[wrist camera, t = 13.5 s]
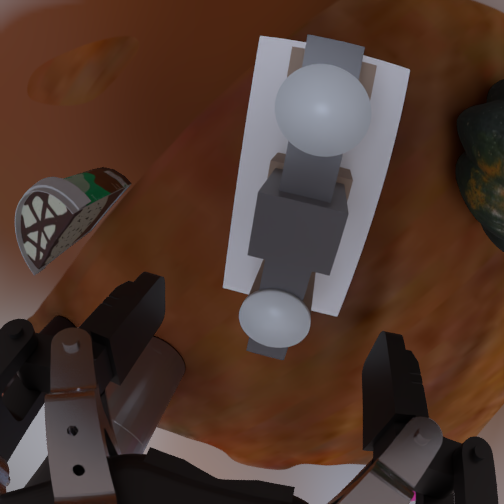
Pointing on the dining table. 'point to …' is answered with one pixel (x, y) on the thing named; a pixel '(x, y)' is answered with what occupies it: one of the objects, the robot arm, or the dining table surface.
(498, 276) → the dining table surface
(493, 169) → the squash
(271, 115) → the display stand
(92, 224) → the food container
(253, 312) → the grey white knobbed bar
